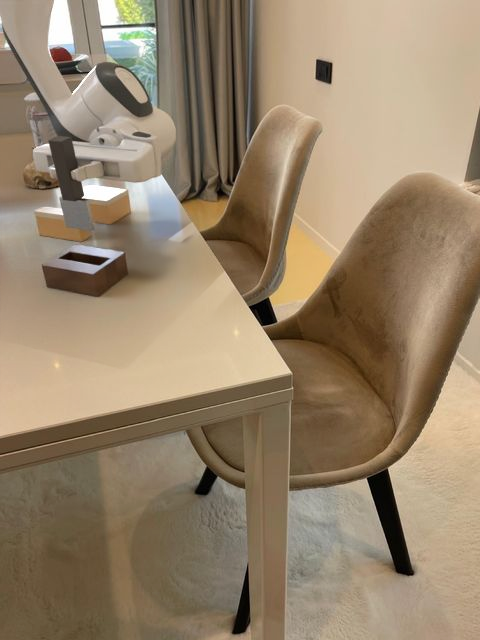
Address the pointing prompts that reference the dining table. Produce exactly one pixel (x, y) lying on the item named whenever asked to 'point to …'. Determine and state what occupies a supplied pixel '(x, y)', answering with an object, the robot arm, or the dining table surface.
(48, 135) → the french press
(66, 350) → the dining table surface
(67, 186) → the cake knife
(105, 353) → the dining table surface
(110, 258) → the knife block
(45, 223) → the cake slice
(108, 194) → the cake
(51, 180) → the bread roll
